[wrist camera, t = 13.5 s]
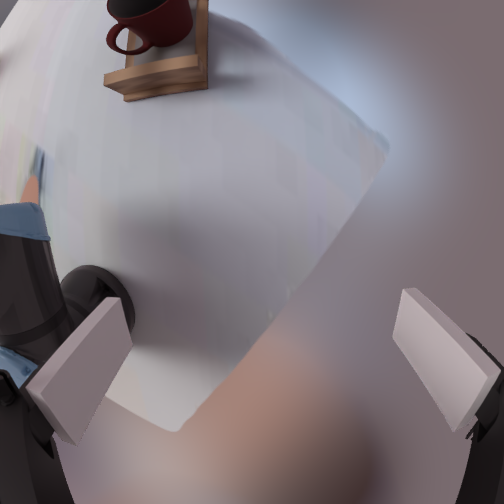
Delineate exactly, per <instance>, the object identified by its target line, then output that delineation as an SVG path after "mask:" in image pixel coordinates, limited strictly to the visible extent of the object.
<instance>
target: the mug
mask: <svg viewBox="0 0 504 504" xmlns="http://www.w3.org/2000/svg"><path fill="white" fill-rule="evenodd" d="M107 10H108V12H109V14H110V15H111V16H112V17H113V18H115V19H116V20H117V21H118V24H116V25H114V26H113V27H112V28H111V29H110V31H109V32H108V34H107V38H106V42H107V45H108V46H109V47H110V48H111V49H113V50H114V51H116V52H118V53H121V54H125V55H139V54H142V53H145V52H146V51H148V50H149V49H150V48H152V47H153V46H154V47H168V46H171V45H174V44H176V43H178V42H180V41H181V40H183V39H184V38H185V37H186V36H187V35H188V34H189V33H190V31H191V29H192V26H193V18H192V14H191V9H190V5H189V1H188V0H108V1H107ZM124 28H128V29H129V30H130V31H132V32H133V33H134V34H136V35H137V36H138V37H140V38H141V39H142V41H143V45H142V46H141V47H140V48H138V49H135V50H131V51H125V50H122V49H120V48H119V47H117V45H116V38H117V36H118V34H119V33H120V32H121V31H122V30H123V29H124Z"/></svg>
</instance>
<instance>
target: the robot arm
mask: <svg viewBox="0 0 504 504" xmlns="http://www.w3.org/2000/svg"><path fill="white" fill-rule="evenodd" d="M50 241H51V239H50V236H49V235H48V232H47V227H46V223H45V218H44V213H43V211H42V209H41V207H40V206H39V205H37V204H35V203H32V202H25V203H13V204H5V205H0V504H75V503H74V501H73V498H72V495H71V493H70V490H69V487H68V484H67V481H66V478H65V475H64V472H63V469H62V465H61V462H60V459H59V455H58V451H57V447H56V443H55V441H54V438H53V437H52V434H53V432H54V431H55V432H56V433H57V434H58V436H59V437H60V438H61V440H62V441H65V442H68V443H70V444H73V445H75V446H78V445H79V442H80V441H81V439H82V437H83V435H84V433H85V431H86V429H87V427H88V425H89V423H90V421H91V419H92V417H93V416H94V414H95V412H96V410H97V408H98V406H99V405H100V403H101V401H102V399H103V397H104V395H105V394H106V392H107V390H108V388H109V386H110V385H111V383H112V381H113V379H114V378H115V376H116V374H117V372H118V371H119V369H120V367H121V366H122V364H123V362H124V360H125V359H126V357H127V355H128V354H129V352H130V350H131V349H132V347H133V344H132V340H131V337H130V333H131V331H132V329H133V327H134V322H135V312H134V307H133V304H132V301H131V299H130V296H129V295H128V293H127V291H126V289H125V288H124V287H123V285H122V284H121V283H120V282H119V281H118V280H117V279H116V278H115V277H114V276H113V275H112V274H110V273H109V272H107V271H105V270H104V269H102V268H99V267H96V266H91V265H84V266H80V267H77V268H75V269H74V270H72V271H71V272H70V273H68V274H67V275H66V276H65V277H64V278H63V280H62V282H61V284H60V283H59V279H58V275H57V272H56V268H55V264H54V259H53V255H52V251H51V246H50ZM392 338H393V340H394V341H395V342H396V344H397V345H398V347H399V348H400V350H401V351H402V352H403V354H404V355H405V357H406V358H407V360H408V361H409V363H410V364H411V366H412V367H413V369H414V370H415V372H416V373H417V375H418V376H419V378H420V379H421V381H422V382H423V384H424V385H425V387H426V388H427V390H428V391H429V393H430V395H431V396H432V398H433V399H434V401H435V403H436V404H437V406H438V407H439V409H440V411H441V412H442V414H443V416H444V417H445V419H446V421H447V422H448V424H449V426H450V427H451V429H452V431H453V432H455V431H457V430H459V429H461V428H464V427H466V426H467V425H468V424H469V423H470V421H471V420H472V418H473V417H474V416H475V415H476V417H477V418H478V421H477V422H476V424H475V425H474V426H473V428H472V429H471V430H470V432H469V433H468V434H467V436H466V439H468V438H469V437H470V436H471V434H472V433H473V437H472V438H471V440H472V444H471V449H470V454H469V458H468V462H467V467H466V471H465V474H464V478H463V481H462V485H461V488H460V491H459V494H458V498H457V500H456V503H455V504H504V367H503V366H502V365H501V364H500V363H499V362H498V361H497V360H496V358H495V357H494V356H493V355H492V354H491V353H489V352H488V351H487V349H486V348H485V347H484V346H483V347H482V344H481V343H480V342H479V341H478V340H477V339H476V338H474V337H472V336H471V335H469V334H467V333H464V332H463V331H462V330H461V329H460V328H459V327H458V326H457V325H456V324H455V323H454V322H453V321H452V320H451V319H450V318H449V317H448V316H447V315H446V314H445V313H443V312H442V311H441V310H440V309H439V308H438V307H437V306H436V305H435V304H433V303H432V302H431V301H430V300H429V299H428V298H427V297H426V296H424V295H423V294H422V293H421V292H420V291H419V290H418V289H416V288H405V289H403V290H402V295H401V300H400V305H399V310H398V314H397V319H396V323H395V327H394V332H393V335H392Z"/></svg>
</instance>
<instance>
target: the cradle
mask: <svg viewBox="0 0 504 504" xmlns="http://www.w3.org/2000/svg"><path fill="white" fill-rule="evenodd" d="M188 1H189V5H190V9H191V14H192V18H193V26H192V29H191V31H190V33H189V34H188V35H187V36H186V37H185V38H184V39H183V40H181V41H180V42H178V43H176V44H174V45H171V46H168V47H154V46H153V47H152V48H150V49H149V50H148V51H146V52H145V53H142V54H139V55H126V63H125V69H121V70H118V71H114V72H111V73H108V74H104V86H106V87H108V88H110V89H112V90H114V91H116V92H118V93H121V94H123V95H124V101H125V102H130V101H135V100H139V99H144V98H149V97H155V96H160V95H166V94H173V93H179V92H187V91H195V90H204V89H208V1H209V0H188ZM142 45H143V41H142V39H141V38H140V37H138V36H137V35H136V34H134V33H133V32H132V31H130V30H129V34H128V43H127V51H131V50H135V49H138V48H140V47H141V46H142Z"/></svg>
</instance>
